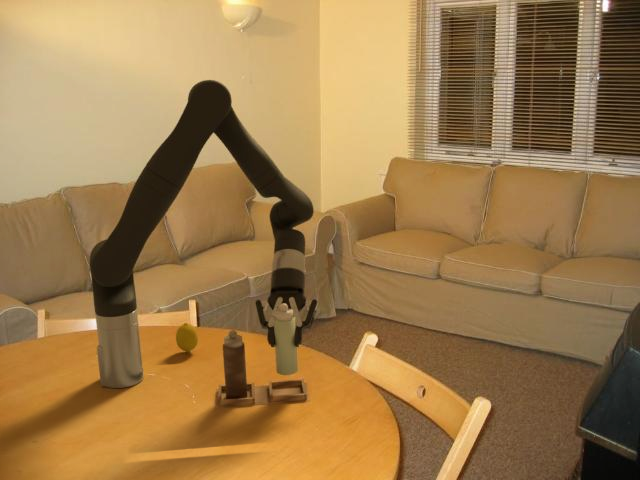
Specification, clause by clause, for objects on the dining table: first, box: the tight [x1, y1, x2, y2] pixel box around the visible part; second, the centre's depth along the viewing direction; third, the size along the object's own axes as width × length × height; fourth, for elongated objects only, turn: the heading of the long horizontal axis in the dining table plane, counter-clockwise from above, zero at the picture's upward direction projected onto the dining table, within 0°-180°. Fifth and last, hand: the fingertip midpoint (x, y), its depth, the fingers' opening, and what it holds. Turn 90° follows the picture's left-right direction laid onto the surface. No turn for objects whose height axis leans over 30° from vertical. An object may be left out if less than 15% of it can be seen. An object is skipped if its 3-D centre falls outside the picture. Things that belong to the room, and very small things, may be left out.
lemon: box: [175, 322, 199, 353], centre depth 183 cm, size 6×6×8 cm
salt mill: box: [274, 303, 299, 376], centre depth 155 cm, size 5×5×15 cm
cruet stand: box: [214, 378, 311, 409], centre depth 157 cm, size 20×9×2 cm, turn 96°
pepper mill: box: [222, 329, 248, 399], centre depth 155 cm, size 5×5×15 cm
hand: (284, 345), depth 153 cm, fingers closed on salt mill, 4 cm apart
